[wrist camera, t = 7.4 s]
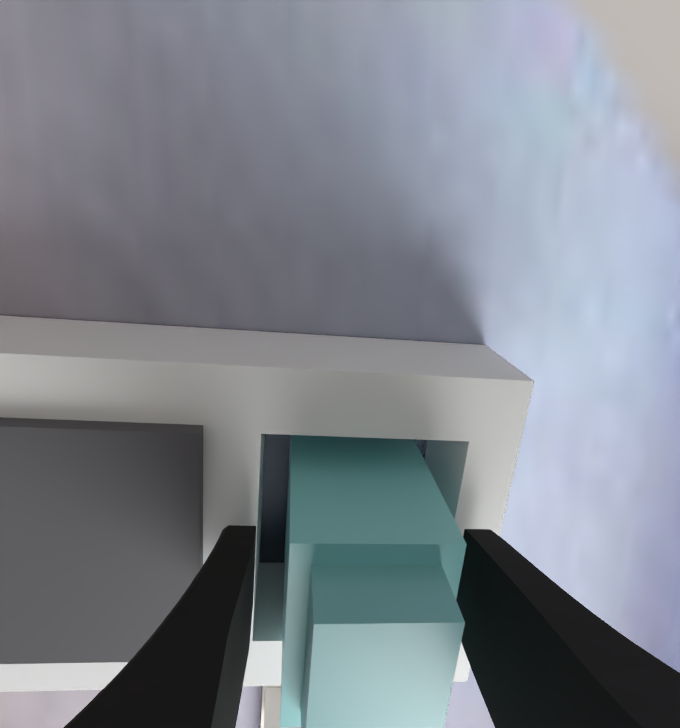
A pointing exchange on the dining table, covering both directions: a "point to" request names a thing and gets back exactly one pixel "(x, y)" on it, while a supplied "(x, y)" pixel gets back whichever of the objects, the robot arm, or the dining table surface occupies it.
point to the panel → (201, 469)
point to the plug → (368, 587)
